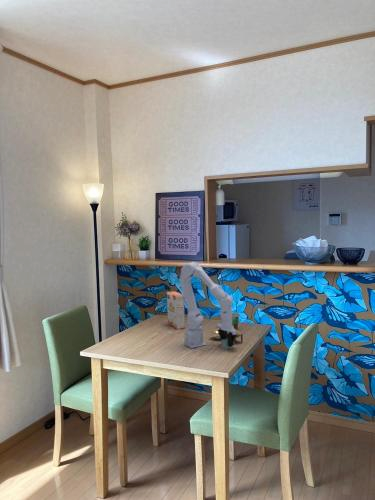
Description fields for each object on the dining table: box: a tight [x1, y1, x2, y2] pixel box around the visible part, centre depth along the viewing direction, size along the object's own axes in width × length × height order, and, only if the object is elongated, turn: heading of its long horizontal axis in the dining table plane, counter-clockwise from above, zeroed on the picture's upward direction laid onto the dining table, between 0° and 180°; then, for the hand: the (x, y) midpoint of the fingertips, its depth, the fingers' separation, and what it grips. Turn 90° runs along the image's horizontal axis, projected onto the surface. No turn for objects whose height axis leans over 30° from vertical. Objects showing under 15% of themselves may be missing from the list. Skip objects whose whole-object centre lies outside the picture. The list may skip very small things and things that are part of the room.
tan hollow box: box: [226, 328, 244, 346], centre depth 221 cm, size 7×7×7 cm
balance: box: [209, 328, 240, 341], centre depth 230 cm, size 18×8×5 cm, turn 118°
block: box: [221, 339, 234, 350], centre depth 213 cm, size 4×4×4 cm
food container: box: [219, 311, 240, 330], centre depth 245 cm, size 12×6×10 cm, turn 62°
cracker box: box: [166, 290, 186, 330], centre depth 255 cm, size 14×6×21 cm, turn 25°
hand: (227, 344), depth 213 cm, fingers open, 6 cm apart
